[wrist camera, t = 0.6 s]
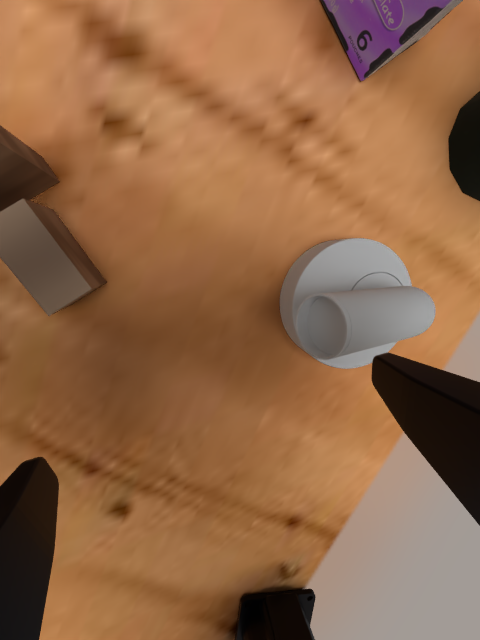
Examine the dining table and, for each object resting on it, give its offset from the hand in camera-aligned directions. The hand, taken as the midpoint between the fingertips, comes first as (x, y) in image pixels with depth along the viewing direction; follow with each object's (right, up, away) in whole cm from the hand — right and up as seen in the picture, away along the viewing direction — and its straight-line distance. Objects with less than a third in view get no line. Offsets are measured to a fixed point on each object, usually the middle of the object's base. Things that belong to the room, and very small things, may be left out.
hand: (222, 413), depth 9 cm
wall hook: (+7, +4, +15) cm, 17 cm away
